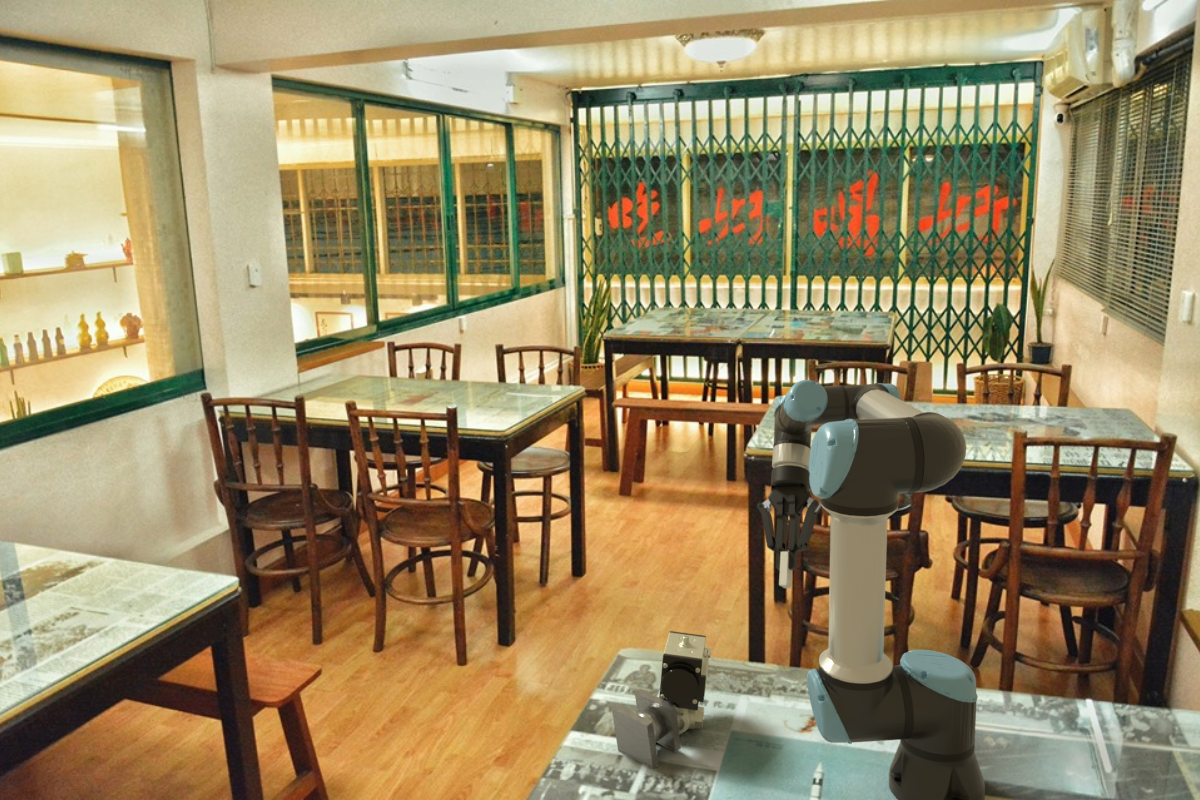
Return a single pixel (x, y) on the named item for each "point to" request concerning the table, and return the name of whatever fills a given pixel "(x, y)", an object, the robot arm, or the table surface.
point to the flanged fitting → (646, 728)
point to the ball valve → (685, 677)
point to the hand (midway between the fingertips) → (785, 586)
